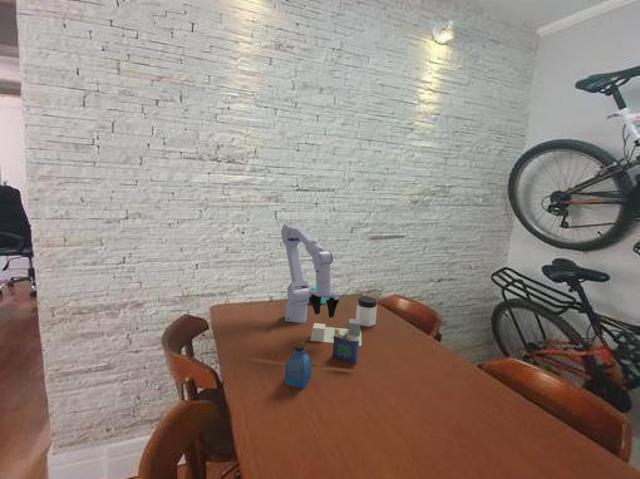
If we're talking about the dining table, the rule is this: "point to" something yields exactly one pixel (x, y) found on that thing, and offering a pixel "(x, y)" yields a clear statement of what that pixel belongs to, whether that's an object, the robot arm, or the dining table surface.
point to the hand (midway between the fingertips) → (324, 315)
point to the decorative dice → (323, 300)
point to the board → (341, 331)
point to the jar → (366, 310)
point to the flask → (345, 348)
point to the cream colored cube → (318, 332)
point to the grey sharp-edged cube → (354, 327)
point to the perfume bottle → (298, 367)
